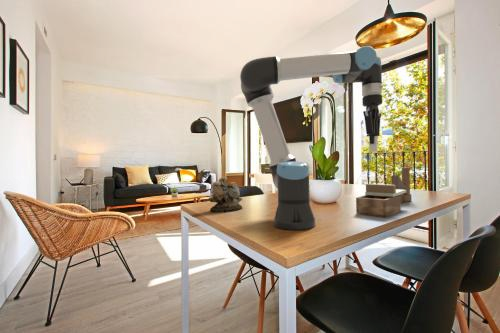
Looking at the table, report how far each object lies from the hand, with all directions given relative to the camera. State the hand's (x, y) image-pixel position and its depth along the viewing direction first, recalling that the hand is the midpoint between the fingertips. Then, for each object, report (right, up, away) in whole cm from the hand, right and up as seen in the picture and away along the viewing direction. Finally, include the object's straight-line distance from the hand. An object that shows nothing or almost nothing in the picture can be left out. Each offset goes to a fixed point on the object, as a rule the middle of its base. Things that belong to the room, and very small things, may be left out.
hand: (373, 151), depth 107 cm
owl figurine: (-65, -29, +22) cm, 74 cm away
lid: (+10, -19, +9) cm, 23 cm away
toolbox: (+4, -26, +3) cm, 27 cm away
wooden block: (+28, -25, +27) cm, 47 cm away
